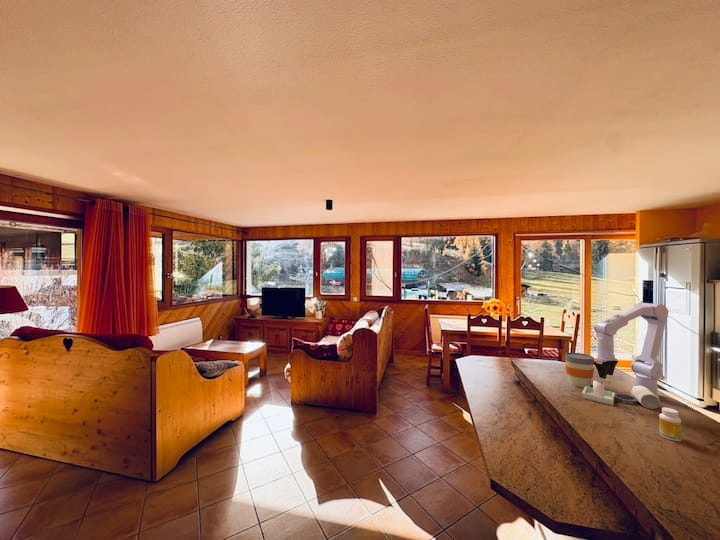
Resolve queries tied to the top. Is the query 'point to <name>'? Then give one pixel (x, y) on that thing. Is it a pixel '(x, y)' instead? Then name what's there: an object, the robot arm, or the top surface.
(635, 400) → the collar
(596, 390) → the peg
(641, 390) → the can
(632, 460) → the top surface
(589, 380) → the reusable coffee cup
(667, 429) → the supplement bottle
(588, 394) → the tray
